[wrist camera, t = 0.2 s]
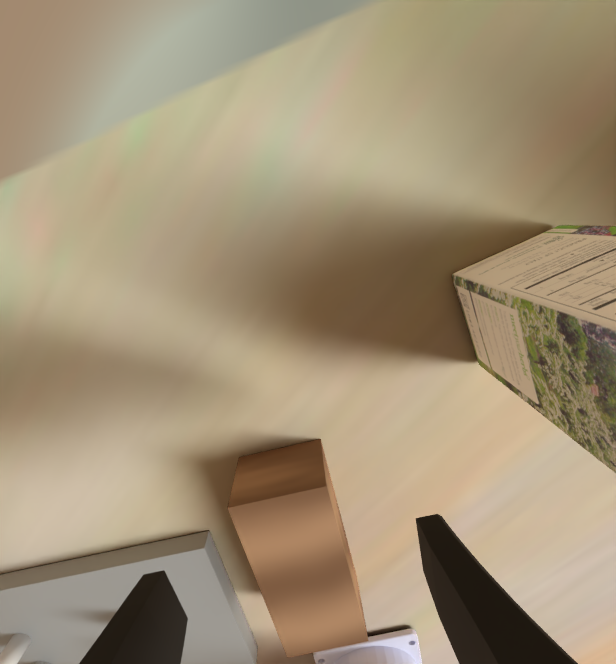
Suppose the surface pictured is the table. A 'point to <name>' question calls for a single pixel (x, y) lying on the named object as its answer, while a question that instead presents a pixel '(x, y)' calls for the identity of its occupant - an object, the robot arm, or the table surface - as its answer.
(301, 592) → the copper brown rectangular block
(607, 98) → the table surface
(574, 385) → the syrup box
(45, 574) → the peg plate
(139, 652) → the robot arm
